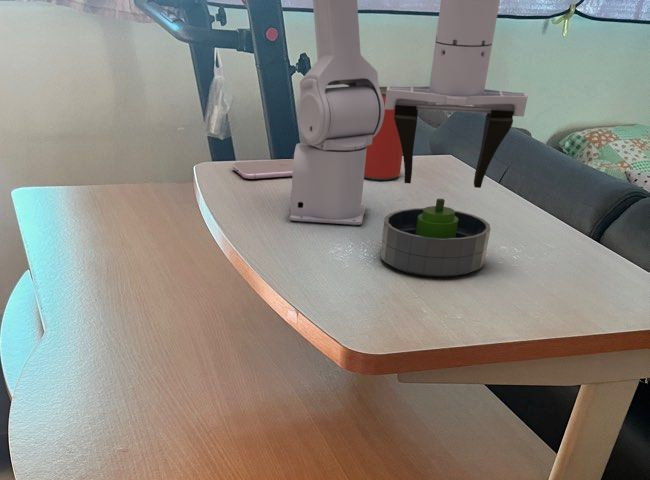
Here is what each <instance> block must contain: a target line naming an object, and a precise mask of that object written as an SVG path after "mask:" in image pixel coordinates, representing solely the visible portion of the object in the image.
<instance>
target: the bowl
mask: <svg viewBox="0 0 650 480" xmlns="http://www.w3.org/2000/svg"><path fill="white" fill-rule="evenodd" d="M424 208H425V207H418V208H417V207H414V208H407V209H399V210H396V211H394V212H390V213H388V214H387V215H386V216H385V217H384V219H383V227H382V236H381V237H382V238H381V244H380V245H381V246H380V253H379V257H380V258H381V259H382V261H383V262H384V263H386V264H388V265H389V266H391V267H393V268H394V269H396V270H398V271H401V272H404V273H407V274H410V275H415V276H421V277H427V278H452V277H459V276H463V275H466V274H470V273H472V272H475V271H478V270H480V269H482V267H483V265H484V264H485V260H486V255H487V250H488V246H489V239H490V234H491V225H490V223H489V222H487V220H485V219H484V218H483V217H479V216H477V215H475V214H473V213H472V214H471V213H467V212H464V211H459V210H454V211H455V216H456V217H457V218H458V225H457V231H456V237H455V238H433V237H424V236H418V235H415V233H416V226H417V218H418V215H420V214H422V213H423V209H424Z"/></svg>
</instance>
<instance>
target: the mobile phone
mask: <svg viewBox="0 0 650 480" xmlns="http://www.w3.org/2000/svg"><path fill="white" fill-rule="evenodd" d="M293 161H294V158H289V159H287V158H286V159H274V160H273V159H272V160H257V161H244V162H235V163H233V164H232V169H233V170H234V172H236V173H238V174H239V175H240V176H241V177H242V178H244V179H246V180H257V179H258V180H259V179H271V178H287V177H292V176H293Z"/></svg>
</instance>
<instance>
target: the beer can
mask: <svg viewBox="0 0 650 480" xmlns="http://www.w3.org/2000/svg"><path fill="white" fill-rule="evenodd" d="M387 87H388V86H379V89H380V92H381V95H382V97H383V101H384V109H385V101H386V91H387ZM394 113H395V109H394V110H387V109H385V112H384V119H383V123H382V126H381V128H380V131H379V132H378V133H377V135H376V136H374V137H373V138H372V145H368V146H367V150H366V161H365V172H364V179H367V180H372V181H390V180H394V179H396V178H398V177H399V176H400V174H401V171H402V170H401V169H402V162H403V152H402V147H401V142H400V138H399V134H398V131H397V127H396V124H395V120H394Z"/></svg>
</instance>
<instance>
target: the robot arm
mask: <svg viewBox="0 0 650 480" xmlns="http://www.w3.org/2000/svg"><path fill="white" fill-rule="evenodd" d="M500 1H501V0H440V4H439V12H438V19H437V20H438V21H437V27H436V34H435V43H434V48H433V49H434V50H433V57H432V63H431V64H432V65H431V71H430V78H429V84H428V86H427V85H426V86H389V85H388V86H386V87H387V91H386V101H385V109H387V110H394V109H395V113H394V120H395V124H396V127H397V131H398V134H399V138H400V142H401V147H402V152H403V154H402V159H403V167H404V182H403V183H404V184H411V182H412V176H413V162H414V161H413V160H414V159H413V157H414V146H415V139H416V131H417V123H418V115H419V111H432V112H433V111H436V112H455V113H470V114H471V113H475V114H485V120H484V125H483V132H482V139H481V145H480V146H481V147H480V151H479V156H478V160H477V162H476V163H477V164H476V167H475V171H474V179H473V187H474V188H478V189H481V188H482V185H483V181H484V178H485V175H486V173H487V171H488V168H489V166H490V163H491V161H492V160H493V158H494V156H495V154H496V152H497V150H498V148H499V147H500V146H501V144H502V142H503V140H504V139H505V138H506V136H507V135H508V134H509V132H510V130H511V128H512V126H513V122H514V117H524V116H525V112H526V108H527V107H526V106H527V104H528V103H527V102H528V95H527V93H526V92H517V91H515V92H514V91H506V90H505V91H504V90H496V89H486V84H487V77H488V72H489V67H490V66H489V65H490V60H491V54H492V50H493V49H492V48H493V42H494V37H495V31H496V25H497V19H498V14H499V8H500ZM312 7H313V21H314V33H315V44H316V45H315V46H316V56H317V57H316V58H317V61H316V62H315V63H314V64H313V65H312V67H311V68H310V69H309V70H308V72H306V73H305V75H303V77H302V79H301V80H299V81H300V82H299V90H300V91H299V92H300V93H299V94H300V96H299V105H298V110H297V121H298V127H299V130H300V133H301V135H302V136H303V138H304V140H305V142H303V143H301V142H300V143H299V142H298V143H296V145H295V149H294V153H293V159H294V161H293V176H291V177H292V178H291V181H292V182H291V190H290V215H289V220H290V221H292V222H307V223H309V222H310V223H323V224H336V225H337V224H339V225H354V226H355V225H356V226H360V225H362V224H363V219H364V214H365V210H366V206H365V205H364V204H362V202H363V191H364V180H365V178H364V172H365V161H366V150H367V146H368V145H372V138H373V137H374V136H376V135H377V133H378V132H379V131H380V128H381V126H382V123H383V119H384V112H385V109H384V101H383V97H382V95H381V92H380V89H379V87H380V85H379V76H378V75H379V74H378V70H377V69H376V68H375V67H374V66H372V64H371V63H370V62H369V61H368V60H367V59H366V58H365V57H364V56H363V55H362V54H361V53H362V52H361V40H360V23H359V22H360V21H359V7H358V0H312ZM340 85H346V86H340ZM328 86H336V87H328ZM337 86H338V87H337Z"/></svg>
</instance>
